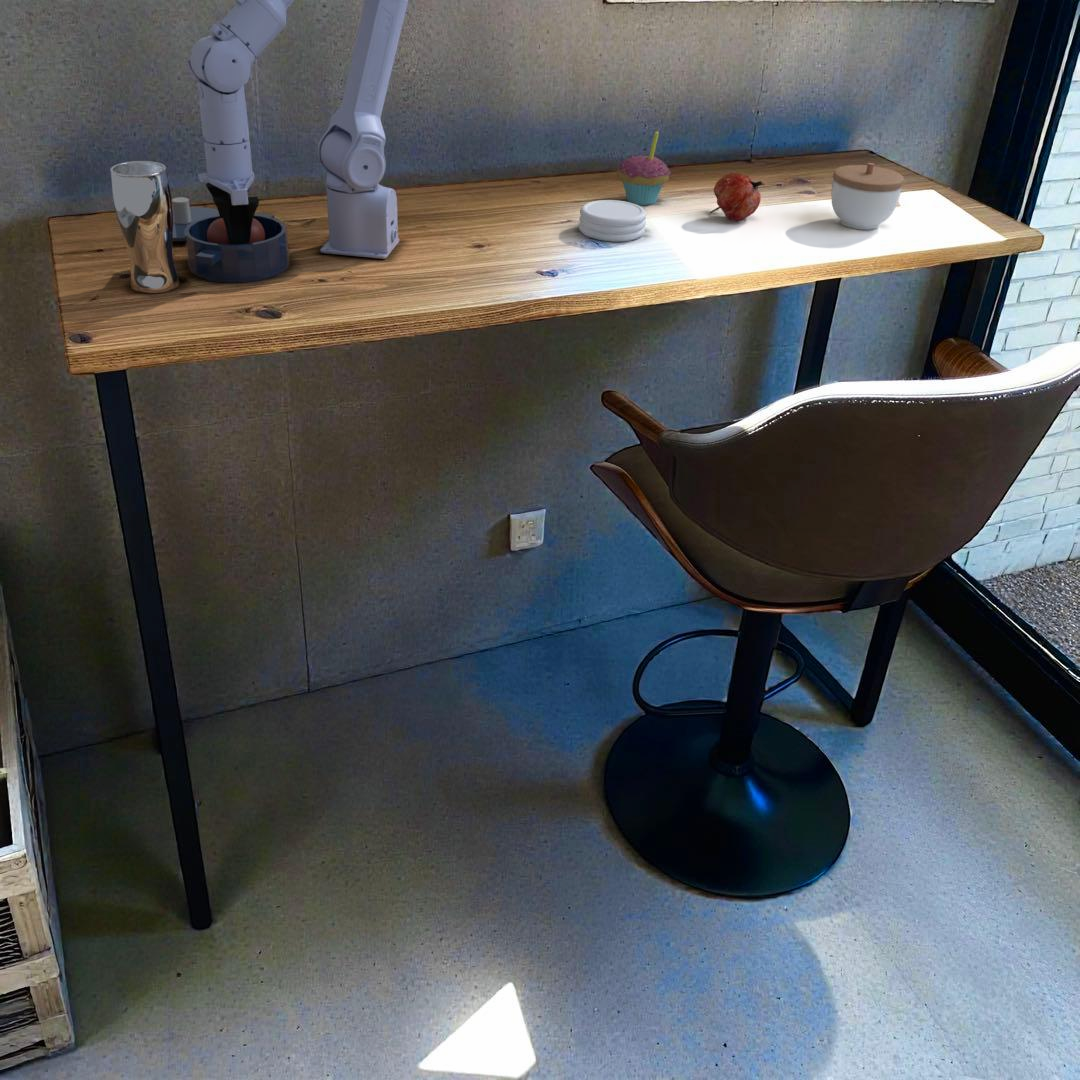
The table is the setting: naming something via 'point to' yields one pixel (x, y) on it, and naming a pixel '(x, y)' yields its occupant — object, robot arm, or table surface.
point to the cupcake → (643, 176)
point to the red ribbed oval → (219, 235)
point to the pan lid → (187, 216)
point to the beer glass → (146, 223)
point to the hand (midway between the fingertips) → (237, 242)
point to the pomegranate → (737, 196)
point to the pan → (237, 253)
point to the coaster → (612, 220)
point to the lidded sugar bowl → (865, 195)
